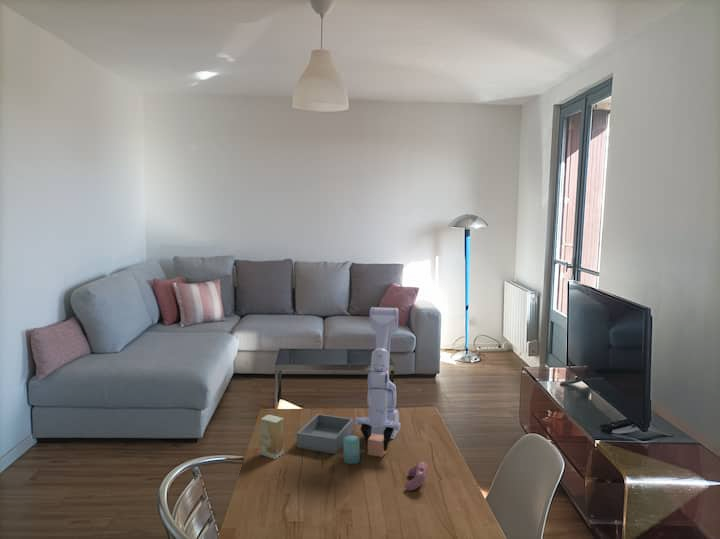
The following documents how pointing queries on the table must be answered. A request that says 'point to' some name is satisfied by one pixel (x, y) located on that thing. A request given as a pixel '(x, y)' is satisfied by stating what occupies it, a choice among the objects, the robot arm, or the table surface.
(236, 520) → the table surface
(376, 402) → the robot arm
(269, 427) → the skincare box
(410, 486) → the pink curved lump
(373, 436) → the terracotta cube
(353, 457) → the teal cylinder
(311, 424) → the tote
